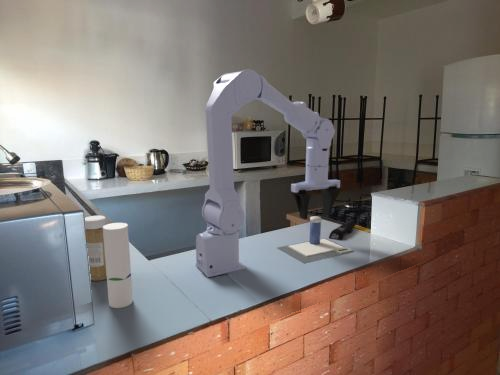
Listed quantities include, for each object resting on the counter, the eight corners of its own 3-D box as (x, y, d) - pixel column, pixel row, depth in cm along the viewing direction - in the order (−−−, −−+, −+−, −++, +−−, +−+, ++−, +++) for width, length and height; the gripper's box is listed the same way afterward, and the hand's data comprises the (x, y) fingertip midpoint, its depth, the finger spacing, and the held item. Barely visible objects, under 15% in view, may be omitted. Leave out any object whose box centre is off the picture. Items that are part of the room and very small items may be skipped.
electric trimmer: (358, 229, 119) (358, 219, 118) (340, 242, 106) (341, 231, 105) (346, 227, 121) (346, 217, 120) (327, 240, 108) (327, 229, 107)
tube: (105, 302, 73) (98, 226, 70) (126, 294, 76) (120, 221, 73) (115, 310, 70) (109, 231, 67) (137, 302, 73) (132, 225, 70)
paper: (306, 256, 94) (306, 255, 94) (288, 246, 101) (288, 245, 101) (344, 248, 100) (344, 247, 100) (324, 239, 107) (324, 238, 106)
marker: (313, 245, 101) (314, 219, 100) (307, 242, 104) (307, 217, 102) (322, 243, 102) (323, 218, 101) (315, 240, 105) (316, 215, 104)
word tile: (340, 253, 96) (340, 252, 96) (333, 250, 98) (333, 249, 98) (352, 251, 98) (352, 249, 98) (345, 248, 100) (345, 246, 100)
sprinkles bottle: (114, 274, 85) (110, 215, 83) (101, 282, 81) (96, 221, 78) (97, 271, 87) (92, 214, 84) (83, 280, 82) (77, 219, 80)
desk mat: (303, 264, 90) (303, 263, 90) (276, 249, 100) (276, 247, 100) (355, 252, 98) (355, 251, 98) (324, 239, 108) (324, 238, 108)
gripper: (303, 169, 92) (301, 223, 95) (349, 165, 99) (346, 216, 102) (286, 165, 98) (285, 217, 101) (331, 162, 105) (329, 210, 108)
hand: (315, 216), depth 102 cm, fingers open, 7 cm apart
